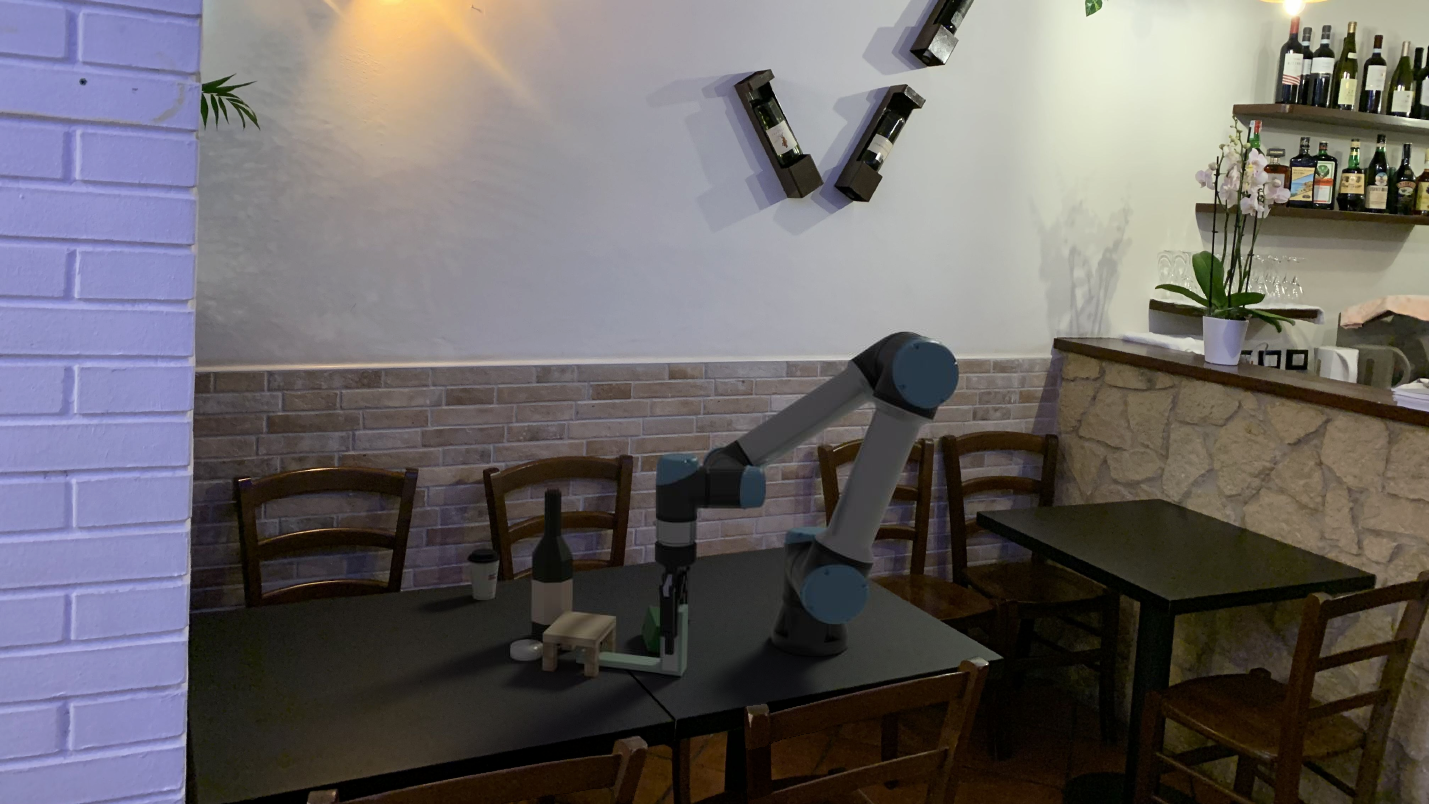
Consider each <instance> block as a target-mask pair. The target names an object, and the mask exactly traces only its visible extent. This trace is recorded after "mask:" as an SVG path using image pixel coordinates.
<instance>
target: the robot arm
mask: <svg viewBox="0 0 1429 804" xmlns="http://www.w3.org/2000/svg"><path fill="white" fill-rule="evenodd" d="M959 379H960V371H959V364H958V362H957V359H956V357H955V356H954V354H953V352H952V351H951V350H950V349H949V348H948V347H947V346H946V345H944V344H942V342H941V341H939V340H937V339H935V338H933V337H932V338H931V337H928V336H924V335H921V334H919V333H917V332H912V331H898V332H894V333H891V334H889V335H887V336H885V337H883V338H881V339H880V340H878V341H877V342H875V343H873V344H872V345H871V346H869V347H866V348H865V350H863V351H862V352H860V353H858V354H857V355H856V356H854V357H852V358H851V359H849V360H848V362H847V366H846V368H845V369H844V370H842V371H841V372H839V373H838V374H836V375H835V376H833V377H832V378H830V379H828V380H826V381H825V382H823V383H822V384H821V385H819V386H818V387H816V388H814V389H812V390H811V391H810V392H808V393H806V394H804V396H802V397H800V398H799V399H797V400H796V401H794V402H792V403H791V404H789V405H787V407H785V408H783V409H782V410H780V411H778V412H777V413H776V414H774V415H773V416H771V417H769V418H768V419H766V420H765V421H763V422H762V423H760V424H758V425H757V426H755V427H754V428H752V429H751V430H749V431H748V432H746V433H745V434H743V435H742V436H740V437H738V438H737V439H736V440H734V441H732V442H730V443H729V444H727V445H726V446H719V447H718V446H717V447H714V448H712V449H711V450H709V451H708V452H707V453H706V455H705V456H704V457H703V460H702V465H701V464H700V461H699V457H698V456H696V455H694V454H690V453H682V452H680V453H679V452H675V453H674V452H673V453H667V454H663V455H661V456H660V457H659V458H658V460H657V462H656V473H655V474H656V475H655V520H653V521H652V525H653V526H654V527H655V529H654V530H655V532H654V533H655V535H654V538H655V540H656V541H655V542H654V561H655V563H657V564H658V565H660V566H663V567H664V572H663V573H662V575H661V583H662V584H660V585H659V586H658V592H659V607H660V632H659V633H658V636H660V637H663V663H662V670H670V671H677V670H678V643H679V635H677V626H678V611H679V604H686V605H688V608H689V605H690V604H689V602H690V601H689V600H690V599H689V597H690V575H691V569H692V567H691V566H692V565H694V564H695V563H696V562H697V558H698V557H697V556H698V555H697V554H698V552H697V551H698V543H697V539H698V525H699V524H698V523H699V522H698V521H699V520H698V517H699V516H698V512H699V509H704V510H705V509H706V510H707V509H725V510H726V509H728V510H729V509H730V510H731V509H732V510H733V509H734V510H735V509H736V510H737V509H739V510H747V509H759V508H761V507H763V505H764V504H765V502H766V497H767V478H766V472H765V470H764V469H766V468H767V467H769V466H770V465H773V463H775V462H776V461H778V460H779V459H782V458H783V457H784V456H786V455H788V454H789V453H791V452H792V451H794V450H795V449H797V448H798V447H800V446H802V445H803V444H805V443H807V442H808V441H809V440H811V439H813V438H814V437H816V436H817V435H819V434H820V433H822V432H823V431H825V430H827V429H828V428H830V427H831V426H833V425H834V424H836V423H838V422H840V421H841V420H842V419H844V418H845V417H848V416H849V415H850V414H853V412H855V411H856V410H858V409H860V408H862V406H865V405H866V404H867V403H871V404H873V405H874V407H875V410H874V413H873V416H872V417H871V420H870V423H869V424H868V428H867V429H866V433H865V435H864V437H863V440H862V442H861V445H860V448H859V450H858V452H857V454H856V457H855V459H854V462H853V464H852V467H851V469H850V472H849V474H848V475H847V476H848V477H847V479H846V481H845V483H844V486H843V489H842V491H841V492H840V496H839V498H838V501H837V503H836V505H835V508H834V509H833V513H832V516H831V518H830V521H829V523H828V525H827V527H824V526H799V527H792V528H789V529H788V530H787V531H786V532H785V536H784V537H785V538H784V542H783V547H784V549H783V550H784V551H783V569H782V593H781V596H782V597H781V604H780V606H779V609H778V611H777V614H776V616H775V618H774V621H773V623H772V627H771V636H770V637H771V642H772V645H774V646H775V647H776V648H778V649H780V650H782V651H785V652H787V653H790V654H794V655H800V656H807V657H825V656H832V655H836V654H839V653H842V652H843V651H845V650H846V649H847V648H848V646H849V631H848V627H847V623H846V622H849V621H852V620H854V619H855V618H857V616H859V615H860V614H861V613H862V612H863V610H864V609H865V608H866V605H867V603H868V600H869V591H870V590H869V585H868V584H869V583H868V581H867V580H868V578H869V576H870V573H871V571H872V568H873V565H874V563H875V560H876V559H875V557H874V554H873V552H872V546H873V543H874V541H875V538H876V537H877V533H878V531H879V529H880V526H881V524H882V522H883V519H884V517H885V515H886V512H887V510H888V507H889V505H890V502H891V500H892V497H893V495H894V493H895V490H896V488H897V485H898V483H899V480H900V477H901V476H902V473H903V471H904V469H905V466H906V464H907V461H908V459H909V456H910V453H912V449H913V447H914V444H915V442H916V439H917V436H918V435H919V432H920V430H921V428H922V427H923V426H925V425H928V424H929V423H932V422H933V421H934V418H935V417H936V414H937V412H938V409H939V407H940V406H941V405H943V404H944V403H946V402H947V401H948V400H949V399H951V397H952V396H953V395H954V393H955V392H956V389H957V387H958V383H959ZM689 615H690V614H689V612H688V616H689ZM690 622H691V620H690V619H688V626H690Z"/></svg>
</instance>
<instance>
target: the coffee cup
mask: <svg viewBox="0 0 1429 804" xmlns="http://www.w3.org/2000/svg"><path fill="white" fill-rule="evenodd" d="M500 556H501V555H500V554H499V553H498V552H497V550H495V549H492V548H485V547H484V548H477V549H474V550H473V551H472V552H471V553H470V554H468V556H467V558H466V559H467V562H468V568H469V576H470V577H469V578H470V584H471V590H472V598H473V599H475V600H476V601H487V600H489V601H490V600H492V599H494V598H495V597H496V596H495V595H496V590H497V589H496V588H497V581H498V572H499V565H500V560H501V557H500Z"/></svg>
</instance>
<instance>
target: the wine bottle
mask: <svg viewBox="0 0 1429 804" xmlns="http://www.w3.org/2000/svg"><path fill="white" fill-rule="evenodd" d="M543 509H544V512H543V513H544V515H543V516H544V517H543V518H544V520H543V522H544V524H543V525H544V527H543V528H544V529H543V530H544V531H543V535H542V537H540V540H539V542H538V543H537V544H536V546H535V548H534V549H533V551H532V553H531V625H530V626H531V634H530V635H531V636H530V637H531V640H537V641H540V642H541V643H542V644H543V633H544V632H545V631H546V630H547V629H548V628H549V627H550V626H551V625H552V624H553V623H554V622H555V621H556V620H557V619H558V618H559V617H560V616H561V615H562V614H563V613H564V612H565V611H572V612H573V587H574V585H573V581H574V580H573V579H574V575H573V574H574V556H573V551H572V550H571V549H570V547H569V545H568V544H567V542H566V540H565V538H564V537H563V535H562V491H561V490H560V487H557V486H549V487H546V491H544V508H543ZM560 645H561V646H562V644H560V643H557V646H560Z"/></svg>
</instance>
